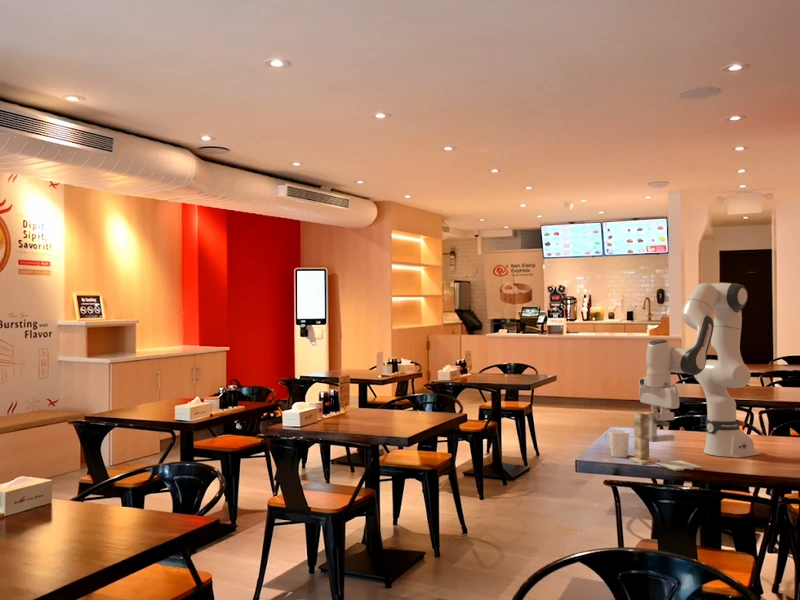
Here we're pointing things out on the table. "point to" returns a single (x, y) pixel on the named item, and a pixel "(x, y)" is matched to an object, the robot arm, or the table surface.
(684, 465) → the mat
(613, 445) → the white cup
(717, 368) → the robot arm
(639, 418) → the stand
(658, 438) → the c link
